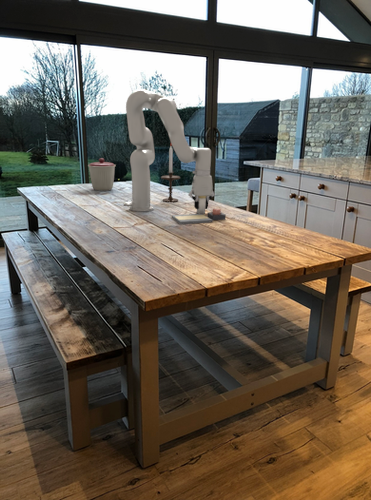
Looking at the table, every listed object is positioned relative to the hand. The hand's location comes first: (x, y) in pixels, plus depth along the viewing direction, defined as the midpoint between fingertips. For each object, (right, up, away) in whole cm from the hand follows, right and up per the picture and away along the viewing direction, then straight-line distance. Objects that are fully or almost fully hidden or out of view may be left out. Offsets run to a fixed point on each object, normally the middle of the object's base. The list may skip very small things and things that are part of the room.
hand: (201, 208), depth 212 cm
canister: (-64, +19, +65) cm, 93 cm away
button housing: (+7, -6, -10) cm, 13 cm away
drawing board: (-5, -7, -14) cm, 16 cm away
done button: (+7, -5, -10) cm, 13 cm away
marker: (0, -2, +1) cm, 2 cm away
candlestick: (-17, +7, +31) cm, 36 cm away
